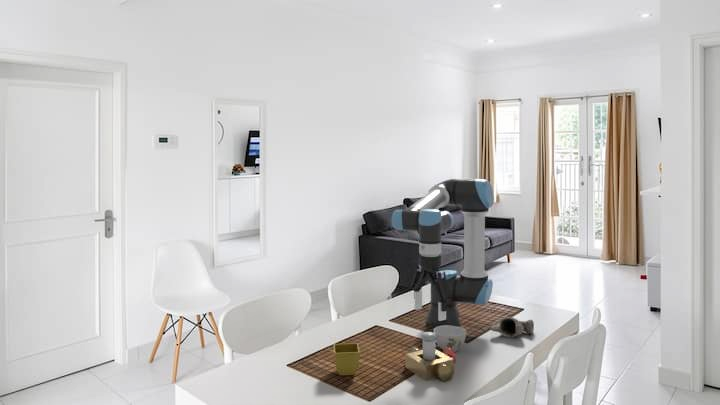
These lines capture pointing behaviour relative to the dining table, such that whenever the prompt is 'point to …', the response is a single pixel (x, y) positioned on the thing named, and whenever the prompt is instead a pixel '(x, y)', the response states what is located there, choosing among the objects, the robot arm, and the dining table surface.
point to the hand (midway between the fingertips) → (429, 314)
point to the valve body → (431, 364)
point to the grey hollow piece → (513, 327)
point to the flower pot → (346, 358)
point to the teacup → (450, 337)
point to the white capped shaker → (429, 346)
